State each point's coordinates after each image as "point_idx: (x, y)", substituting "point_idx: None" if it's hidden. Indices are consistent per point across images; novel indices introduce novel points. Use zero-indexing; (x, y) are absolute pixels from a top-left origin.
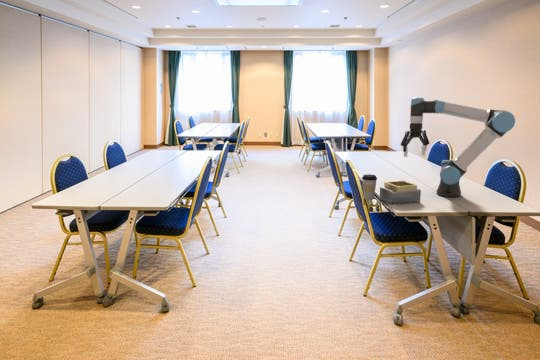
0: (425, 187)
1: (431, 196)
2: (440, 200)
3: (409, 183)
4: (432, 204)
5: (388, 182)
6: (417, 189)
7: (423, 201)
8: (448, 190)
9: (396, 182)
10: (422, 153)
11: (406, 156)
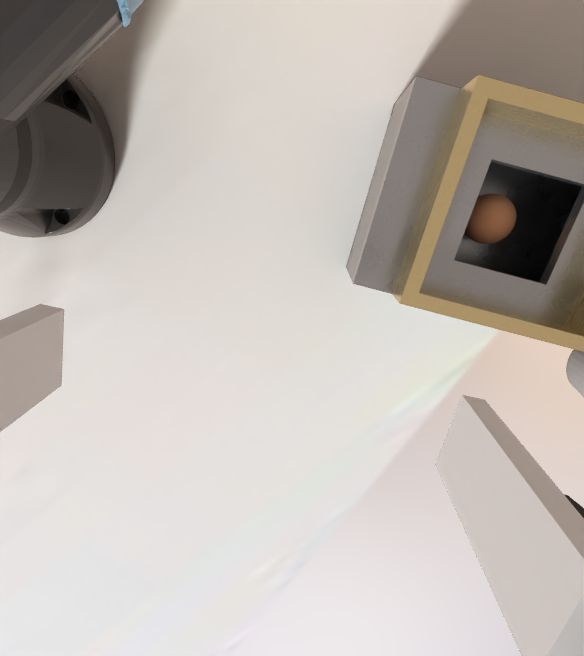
0: None
1: (182, 182)
2: (215, 59)
3: (454, 191)
4: (365, 3)
5: (569, 332)
6: (432, 104)
7: (348, 110)
8: (50, 97)
9: (485, 309)
10: (39, 373)
11: (487, 404)
